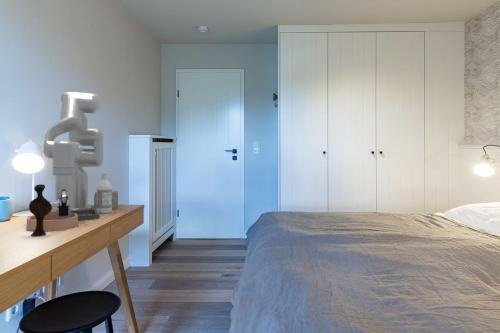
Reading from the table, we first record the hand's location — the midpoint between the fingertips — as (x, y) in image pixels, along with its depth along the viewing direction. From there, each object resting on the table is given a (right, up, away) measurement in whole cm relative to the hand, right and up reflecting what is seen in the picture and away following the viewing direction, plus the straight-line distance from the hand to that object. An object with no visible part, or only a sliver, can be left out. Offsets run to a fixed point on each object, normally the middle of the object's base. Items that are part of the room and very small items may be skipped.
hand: (63, 213), depth 131 cm
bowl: (-3, -5, -3) cm, 6 cm away
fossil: (+1, -4, +38) cm, 38 cm away
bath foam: (+3, -4, +30) cm, 31 cm away
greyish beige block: (-8, -4, +13) cm, 16 cm away
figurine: (+1, -5, -16) cm, 17 cm away
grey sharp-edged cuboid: (0, -4, 0) cm, 4 cm away
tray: (-4, -4, +15) cm, 16 cm away
